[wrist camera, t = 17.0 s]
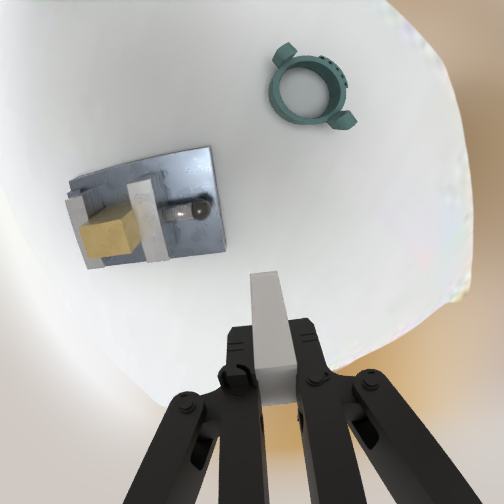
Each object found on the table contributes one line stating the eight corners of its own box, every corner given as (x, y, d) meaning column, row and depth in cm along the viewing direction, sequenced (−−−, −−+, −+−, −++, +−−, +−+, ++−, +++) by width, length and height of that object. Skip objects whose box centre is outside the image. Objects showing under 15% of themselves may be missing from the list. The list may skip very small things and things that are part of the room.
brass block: (107, 206, 33) (78, 228, 26) (145, 198, 33) (120, 219, 26) (114, 232, 35) (89, 259, 28) (151, 226, 35) (131, 253, 28)
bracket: (329, 131, 32) (357, 133, 24) (260, 117, 31) (267, 113, 23) (339, 69, 28) (368, 55, 20) (270, 54, 27) (280, 31, 19)
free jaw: (140, 176, 31) (126, 184, 27) (206, 164, 31) (201, 169, 27) (157, 247, 36) (147, 262, 32) (219, 239, 36) (216, 254, 32)
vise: (75, 178, 33) (51, 189, 27) (210, 146, 32) (203, 150, 26) (100, 261, 39) (82, 282, 33) (226, 245, 38) (223, 268, 33)
